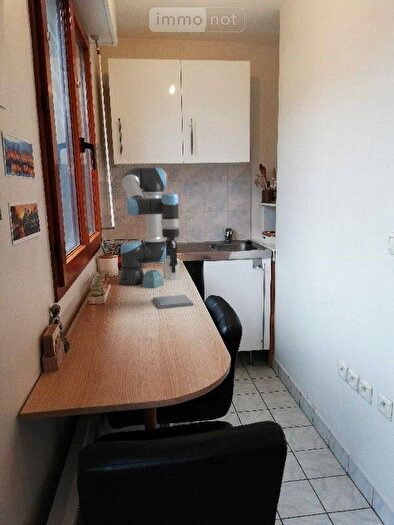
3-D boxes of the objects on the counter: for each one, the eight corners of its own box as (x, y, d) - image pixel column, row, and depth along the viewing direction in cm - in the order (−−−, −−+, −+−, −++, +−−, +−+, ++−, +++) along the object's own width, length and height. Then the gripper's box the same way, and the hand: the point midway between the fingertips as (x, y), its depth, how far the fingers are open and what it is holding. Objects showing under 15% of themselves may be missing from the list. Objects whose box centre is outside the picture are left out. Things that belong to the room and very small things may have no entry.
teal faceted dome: (163, 269, 210) (164, 285, 211) (151, 268, 214) (151, 283, 216) (154, 272, 202) (154, 288, 204) (141, 271, 207) (141, 287, 209)
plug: (163, 278, 177) (162, 255, 175) (178, 277, 179) (177, 254, 177) (165, 280, 172) (164, 257, 170) (180, 279, 174) (180, 256, 172)
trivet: (152, 299, 183) (152, 296, 183) (184, 296, 187) (184, 294, 187) (159, 308, 168) (158, 306, 168) (193, 305, 172) (193, 302, 172)
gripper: (158, 226, 179) (160, 274, 183) (166, 230, 162) (168, 283, 166) (174, 226, 181) (175, 273, 185) (183, 229, 164) (184, 281, 168)
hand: (171, 278), depth 175 cm, fingers closed on plug, 5 cm apart
